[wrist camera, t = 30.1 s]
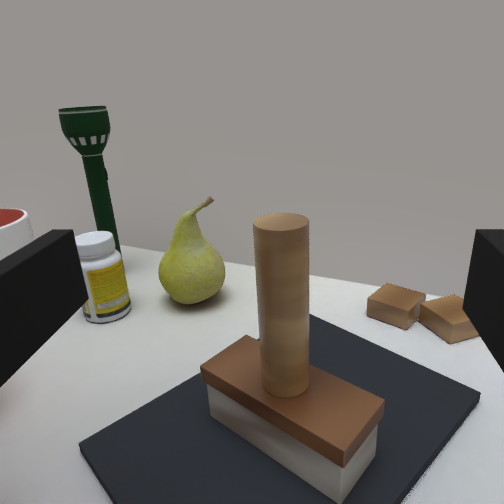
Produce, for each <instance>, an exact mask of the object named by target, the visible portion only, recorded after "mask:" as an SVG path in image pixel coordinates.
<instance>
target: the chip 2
mask: <svg viewBox="0 0 504 504" xmlns="http://www.w3.org/2000/svg"><path fill="white" fill-rule="evenodd" d="M463 301H464V299H462V298H461V297H459V296H457V295H455V294H454V295H450V296H446V297H442V298H438V299H434V300H430V301H426V302H422V303H420V310H419V319H418V321H419V322H420V323H421V324H423V325H424V326H426V327H427V328H428V329H430V330H431V331H432V332H434V333H435V334H437V335H438V336H439V337H441V338H442V339H444V340H445V341H446V342H448V343H449V344H452V343H455V342H459V341H462V340H466V339H469V338H473V337H476V336H479V334H478V332H477V331H476V329H475V328H474V326H473V324H472V323H471V321H470V320H469V318H468V317H467V315H466V314H465V312H464V311H463V309H462V307H463Z"/></svg>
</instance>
